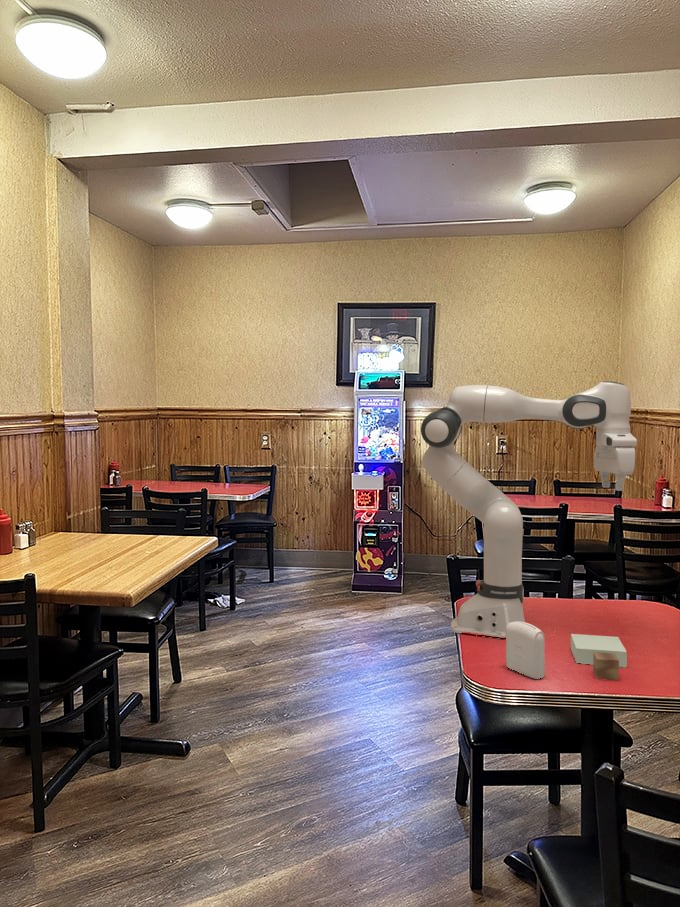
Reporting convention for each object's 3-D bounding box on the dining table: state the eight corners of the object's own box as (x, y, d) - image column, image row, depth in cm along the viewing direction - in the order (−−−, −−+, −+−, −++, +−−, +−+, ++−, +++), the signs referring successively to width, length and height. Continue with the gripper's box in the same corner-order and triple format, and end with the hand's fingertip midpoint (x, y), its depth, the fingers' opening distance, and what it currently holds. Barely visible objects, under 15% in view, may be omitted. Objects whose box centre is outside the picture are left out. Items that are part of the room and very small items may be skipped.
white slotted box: (503, 668, 160) (503, 619, 159) (515, 664, 162) (515, 616, 162) (535, 681, 151) (535, 630, 151) (547, 677, 153) (547, 627, 153)
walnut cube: (596, 679, 152) (596, 658, 152) (593, 671, 157) (593, 651, 157) (618, 681, 151) (619, 660, 151) (615, 673, 156) (615, 653, 156)
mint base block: (576, 663, 162) (576, 648, 162) (570, 648, 174) (570, 633, 174) (626, 667, 159) (626, 651, 159) (617, 651, 171) (617, 636, 171)
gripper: (588, 439, 188) (588, 485, 188) (615, 440, 167) (614, 492, 168) (610, 439, 187) (609, 486, 188) (640, 440, 167) (639, 492, 167)
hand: (612, 489), depth 178 cm, fingers open, 8 cm apart
